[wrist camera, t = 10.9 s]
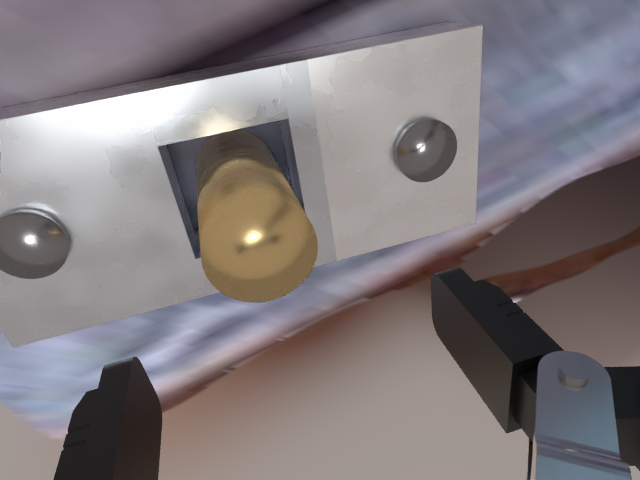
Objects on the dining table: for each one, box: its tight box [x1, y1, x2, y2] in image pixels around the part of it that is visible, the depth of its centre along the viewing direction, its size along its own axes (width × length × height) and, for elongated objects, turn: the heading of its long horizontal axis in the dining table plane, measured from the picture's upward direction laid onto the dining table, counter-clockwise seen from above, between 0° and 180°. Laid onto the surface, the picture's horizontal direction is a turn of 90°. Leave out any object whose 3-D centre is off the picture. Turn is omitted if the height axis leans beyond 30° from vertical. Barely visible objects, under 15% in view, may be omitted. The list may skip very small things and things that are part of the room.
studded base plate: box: [0, 22, 483, 348], centre depth 22 cm, size 24×10×4 cm, turn 98°
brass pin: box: [195, 130, 318, 302], centre depth 19 cm, size 4×4×9 cm
